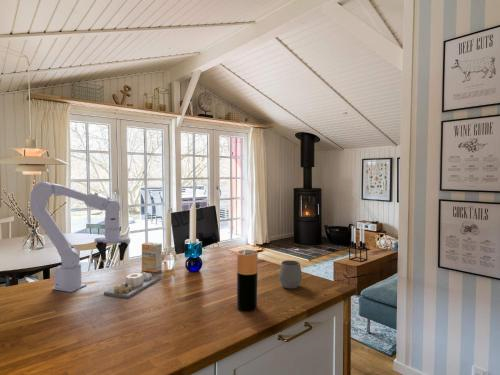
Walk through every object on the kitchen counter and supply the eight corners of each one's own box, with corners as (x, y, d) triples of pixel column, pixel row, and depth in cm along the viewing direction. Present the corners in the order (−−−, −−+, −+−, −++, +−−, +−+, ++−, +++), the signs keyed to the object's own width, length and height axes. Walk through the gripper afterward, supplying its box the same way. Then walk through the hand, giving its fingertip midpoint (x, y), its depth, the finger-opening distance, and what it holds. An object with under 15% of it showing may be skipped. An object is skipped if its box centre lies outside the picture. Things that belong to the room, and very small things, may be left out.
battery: (239, 313, 109) (239, 254, 108) (234, 304, 116) (235, 249, 115) (259, 310, 111) (260, 253, 110) (253, 302, 118) (254, 248, 117)
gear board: (103, 294, 124) (103, 285, 124) (139, 276, 145) (139, 268, 145) (128, 298, 121) (128, 288, 120) (160, 279, 142) (160, 270, 141)
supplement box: (141, 271, 152) (140, 243, 151) (147, 268, 157) (147, 241, 156) (156, 273, 150) (156, 245, 149) (162, 270, 154) (162, 242, 154)
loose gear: (123, 285, 131) (123, 277, 130) (134, 280, 137) (134, 272, 137) (134, 287, 129) (133, 279, 128) (145, 282, 135) (145, 274, 135)
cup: (301, 283, 138) (301, 260, 138) (302, 291, 129) (303, 266, 129) (278, 282, 139) (279, 259, 139) (278, 290, 130) (279, 265, 130)
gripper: (90, 229, 133) (91, 262, 134) (125, 230, 133) (125, 262, 133) (98, 226, 140) (99, 257, 141) (132, 227, 140) (132, 258, 140)
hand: (112, 259), depth 138 cm, fingers open, 7 cm apart
